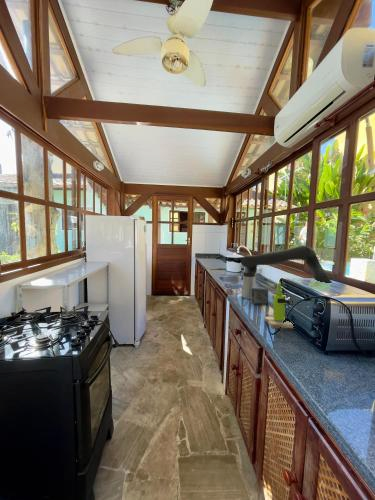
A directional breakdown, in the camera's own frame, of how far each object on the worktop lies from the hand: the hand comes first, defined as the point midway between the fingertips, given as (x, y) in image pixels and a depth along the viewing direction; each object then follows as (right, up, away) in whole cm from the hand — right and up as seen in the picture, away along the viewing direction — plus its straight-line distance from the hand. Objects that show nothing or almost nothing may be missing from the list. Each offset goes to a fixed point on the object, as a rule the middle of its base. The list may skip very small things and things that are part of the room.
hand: (275, 299), depth 124 cm
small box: (+4, -11, +38) cm, 40 cm away
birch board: (+2, -14, +1) cm, 14 cm away
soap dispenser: (+2, -11, +1) cm, 11 cm away
